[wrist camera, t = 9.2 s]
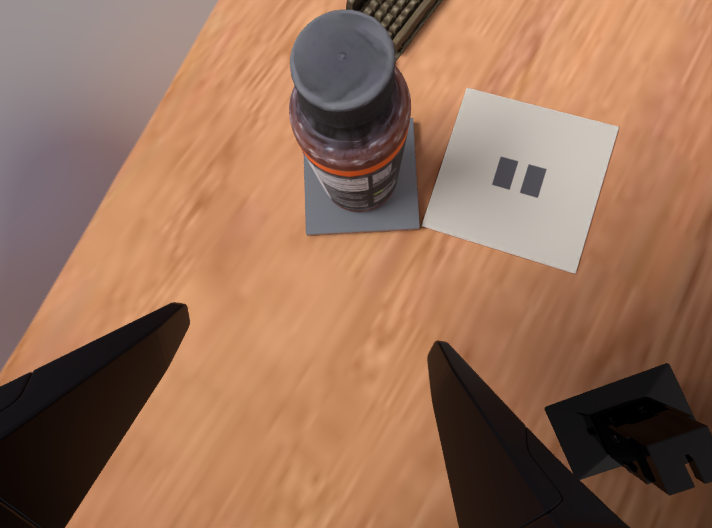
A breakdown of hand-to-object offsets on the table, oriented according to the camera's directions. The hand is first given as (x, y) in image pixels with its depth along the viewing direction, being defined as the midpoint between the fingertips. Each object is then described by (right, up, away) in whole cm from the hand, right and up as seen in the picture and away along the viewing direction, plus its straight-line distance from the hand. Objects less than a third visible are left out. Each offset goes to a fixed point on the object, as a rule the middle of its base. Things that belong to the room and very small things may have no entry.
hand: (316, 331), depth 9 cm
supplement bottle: (+2, +9, +11) cm, 15 cm away
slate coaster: (+2, +9, +12) cm, 15 cm away
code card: (+14, +9, +11) cm, 20 cm away
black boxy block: (+21, -9, +10) cm, 25 cm away
